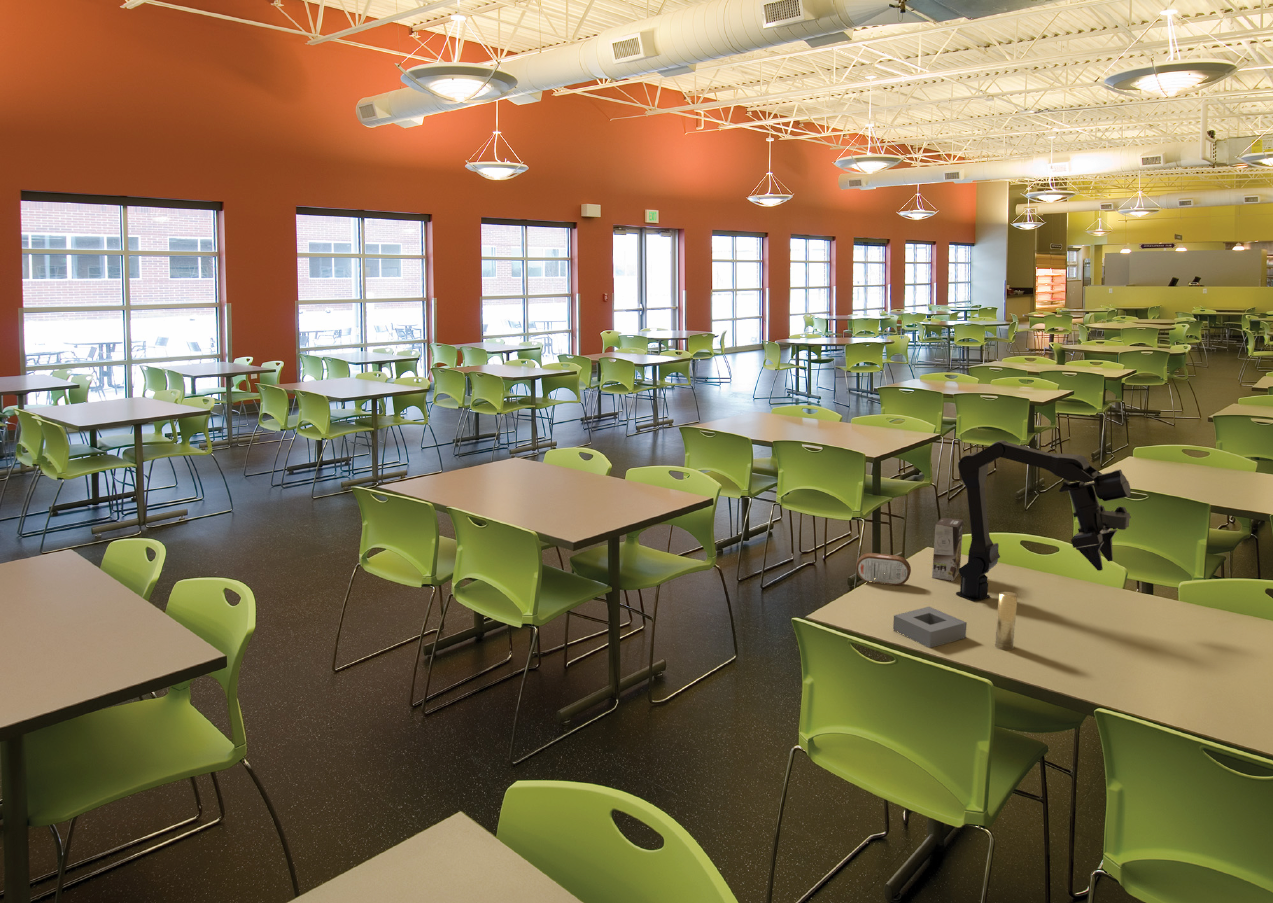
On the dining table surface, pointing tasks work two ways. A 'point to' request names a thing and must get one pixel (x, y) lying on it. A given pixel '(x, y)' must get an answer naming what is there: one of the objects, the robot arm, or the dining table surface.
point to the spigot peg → (1006, 620)
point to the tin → (883, 568)
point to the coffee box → (947, 548)
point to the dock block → (930, 626)
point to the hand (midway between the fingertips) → (1105, 565)
